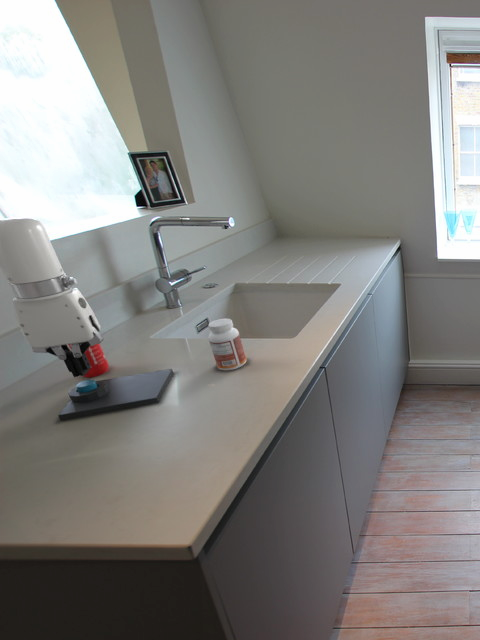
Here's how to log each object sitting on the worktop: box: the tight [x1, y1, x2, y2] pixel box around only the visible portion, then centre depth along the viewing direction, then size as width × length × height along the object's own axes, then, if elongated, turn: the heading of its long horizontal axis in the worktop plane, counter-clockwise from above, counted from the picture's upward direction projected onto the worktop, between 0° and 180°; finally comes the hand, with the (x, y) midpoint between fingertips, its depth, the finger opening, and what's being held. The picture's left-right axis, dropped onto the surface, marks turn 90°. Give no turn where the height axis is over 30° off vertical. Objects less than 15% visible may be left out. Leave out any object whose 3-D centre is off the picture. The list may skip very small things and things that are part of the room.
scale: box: [58, 368, 175, 422], centre depth 93 cm, size 16×13×3 cm
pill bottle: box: [207, 318, 247, 371], centre depth 103 cm, size 6×6×11 cm
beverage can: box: [68, 343, 109, 378], centre depth 100 cm, size 5×5×12 cm
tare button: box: [75, 379, 98, 393], centre depth 91 cm, size 3×3×2 cm
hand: (82, 373), depth 89 cm, fingers closed
